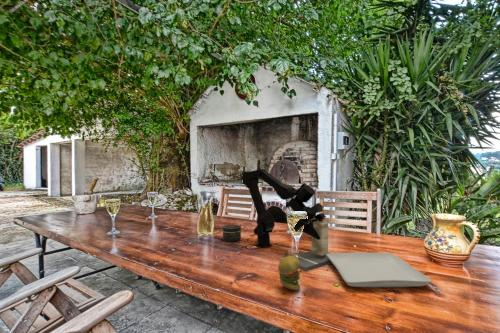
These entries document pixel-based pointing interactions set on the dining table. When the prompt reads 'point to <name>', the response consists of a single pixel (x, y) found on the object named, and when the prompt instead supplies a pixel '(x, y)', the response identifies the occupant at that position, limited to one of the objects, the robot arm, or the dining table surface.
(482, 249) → the dining table surface
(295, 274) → the hamburger
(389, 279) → the square plate
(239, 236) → the jar
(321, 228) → the birch post
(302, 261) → the charcoal board
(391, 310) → the dining table surface
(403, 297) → the dining table surface
